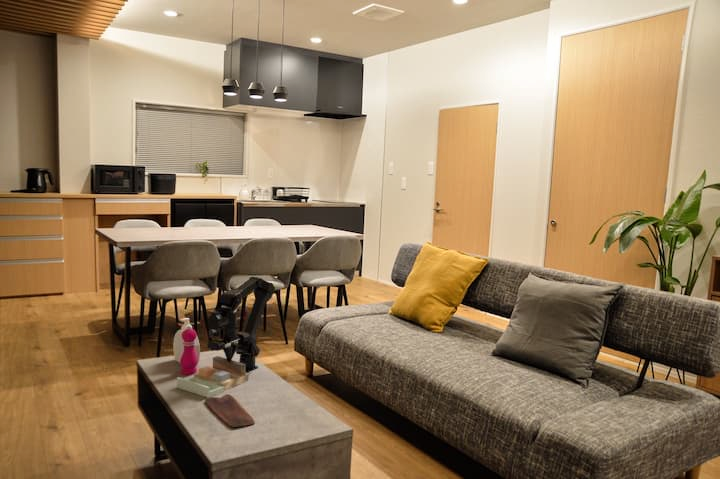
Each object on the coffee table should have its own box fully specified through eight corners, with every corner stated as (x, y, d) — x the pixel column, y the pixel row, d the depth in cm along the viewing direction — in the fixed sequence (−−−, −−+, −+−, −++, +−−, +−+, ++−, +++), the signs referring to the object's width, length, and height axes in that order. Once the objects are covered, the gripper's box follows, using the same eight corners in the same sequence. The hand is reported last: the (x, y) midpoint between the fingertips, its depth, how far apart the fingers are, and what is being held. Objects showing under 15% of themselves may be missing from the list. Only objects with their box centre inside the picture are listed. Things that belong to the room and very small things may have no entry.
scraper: (217, 366, 228) (217, 356, 228) (245, 375, 220) (245, 364, 220) (212, 368, 226) (212, 357, 226) (241, 376, 218) (241, 365, 217)
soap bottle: (172, 359, 244) (172, 315, 242) (183, 357, 247) (183, 314, 245) (188, 369, 232) (189, 323, 230) (200, 366, 236) (200, 321, 234)
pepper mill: (200, 370, 232) (201, 324, 230) (193, 376, 225) (194, 328, 223) (184, 368, 233) (184, 322, 231) (176, 374, 225) (177, 327, 223)
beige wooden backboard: (220, 372, 230) (220, 365, 230) (248, 381, 222) (248, 373, 222) (194, 381, 218) (194, 374, 218) (222, 391, 210) (222, 383, 210)
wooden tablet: (257, 419, 183) (228, 422, 178) (256, 426, 183) (228, 429, 178) (230, 392, 205) (203, 394, 200) (229, 398, 205) (203, 400, 200)
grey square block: (221, 376, 217) (221, 370, 217) (229, 378, 215) (229, 372, 215) (212, 379, 214) (212, 373, 213) (221, 382, 211) (221, 376, 211)
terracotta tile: (207, 372, 222) (207, 366, 221) (215, 374, 219) (215, 368, 219) (198, 375, 218) (198, 369, 218) (206, 377, 215) (206, 371, 215)
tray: (193, 381, 219) (193, 371, 218) (223, 391, 210) (223, 381, 209) (176, 387, 212) (177, 377, 211) (207, 398, 203) (207, 387, 203)
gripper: (231, 316, 233) (231, 351, 235) (197, 325, 217) (197, 363, 219) (251, 320, 227) (250, 356, 229) (217, 330, 212) (217, 369, 213)
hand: (229, 361), depth 223 cm, fingers closed, pressing on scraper
